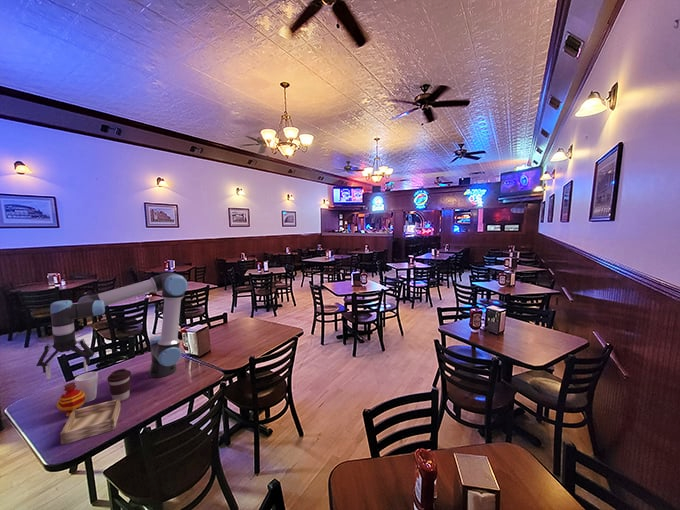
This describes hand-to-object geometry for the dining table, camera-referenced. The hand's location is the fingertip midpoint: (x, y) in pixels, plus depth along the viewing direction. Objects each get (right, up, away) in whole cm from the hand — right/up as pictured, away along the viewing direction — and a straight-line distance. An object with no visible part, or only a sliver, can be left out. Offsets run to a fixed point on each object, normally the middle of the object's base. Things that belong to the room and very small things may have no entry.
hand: (68, 374), depth 138 cm
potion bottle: (0, -21, +2) cm, 21 cm away
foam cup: (-2, -19, +14) cm, 24 cm away
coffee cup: (+15, -19, +15) cm, 28 cm away
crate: (+18, -21, -6) cm, 28 cm away
